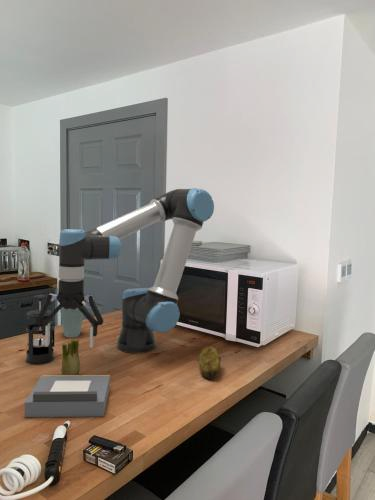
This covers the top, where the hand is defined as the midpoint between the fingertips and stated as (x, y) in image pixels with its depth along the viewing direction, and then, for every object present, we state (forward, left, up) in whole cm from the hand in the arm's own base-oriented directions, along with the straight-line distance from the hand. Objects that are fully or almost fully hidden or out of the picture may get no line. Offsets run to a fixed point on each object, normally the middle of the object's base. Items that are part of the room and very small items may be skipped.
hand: (69, 345), depth 125 cm
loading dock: (-3, +16, -10) cm, 19 cm away
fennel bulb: (0, 0, -11) cm, 11 cm away
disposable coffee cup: (+7, -41, -11) cm, 43 cm away
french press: (+13, -15, -11) cm, 22 cm away
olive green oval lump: (-45, -3, -11) cm, 47 cm away
